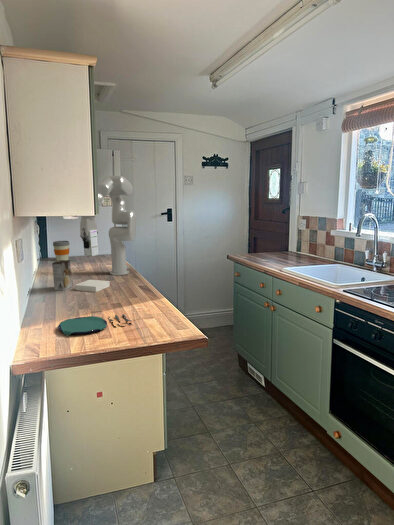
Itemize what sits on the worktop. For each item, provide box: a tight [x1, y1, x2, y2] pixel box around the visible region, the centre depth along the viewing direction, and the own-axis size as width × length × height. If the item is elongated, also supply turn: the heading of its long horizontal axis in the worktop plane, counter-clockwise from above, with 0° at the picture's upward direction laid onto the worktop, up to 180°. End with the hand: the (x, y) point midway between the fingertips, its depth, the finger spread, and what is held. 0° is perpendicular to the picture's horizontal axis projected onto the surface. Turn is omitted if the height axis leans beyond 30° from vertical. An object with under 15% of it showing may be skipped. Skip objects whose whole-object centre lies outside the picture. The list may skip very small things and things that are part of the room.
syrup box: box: [83, 230, 99, 257], centre depth 235 cm, size 6×6×14 cm
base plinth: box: [74, 279, 110, 293], centre depth 240 cm, size 14×14×3 cm
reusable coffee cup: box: [52, 240, 70, 262], centre depth 330 cm, size 13×13×15 cm
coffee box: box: [51, 259, 73, 291], centre depth 239 cm, size 9×6×16 cm
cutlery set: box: [57, 314, 132, 337], centre depth 175 cm, size 20×30×2 cm, turn 114°
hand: (90, 247), depth 236 cm, fingers closed on syrup box, 6 cm apart
